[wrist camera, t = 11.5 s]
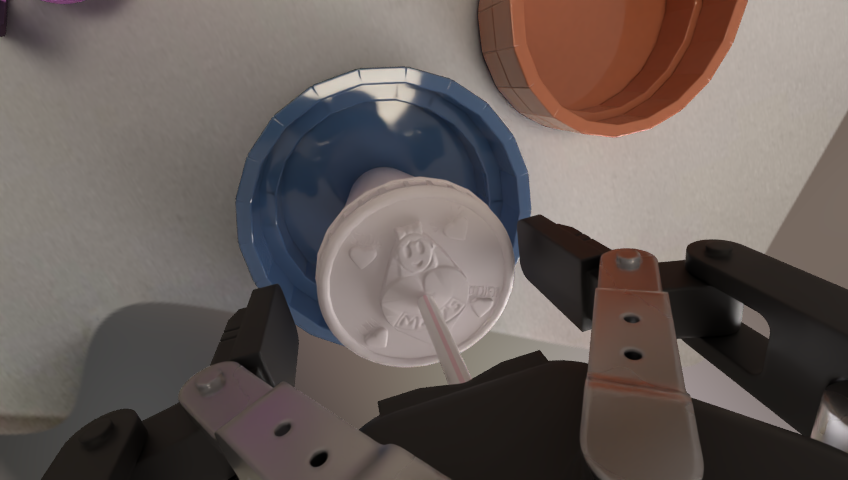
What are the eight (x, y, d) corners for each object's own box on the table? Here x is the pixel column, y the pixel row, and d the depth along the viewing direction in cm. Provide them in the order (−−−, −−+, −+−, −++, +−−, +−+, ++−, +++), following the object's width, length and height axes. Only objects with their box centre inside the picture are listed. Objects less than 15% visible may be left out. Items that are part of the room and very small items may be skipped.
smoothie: (342, 270, 22) (357, 526, 9) (304, 157, 19) (252, 297, 7) (452, 238, 23) (605, 435, 10) (429, 125, 20) (596, 197, 7)
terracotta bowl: (490, 147, 22) (523, 160, 18) (461, -108, 17) (495, -160, 14) (671, 105, 23) (735, 109, 19) (687, -142, 19) (773, -196, 15)
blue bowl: (300, 329, 23) (294, 382, 19) (214, 99, 18) (180, 103, 14) (505, 272, 25) (539, 309, 21) (479, 46, 20) (517, 36, 16)
